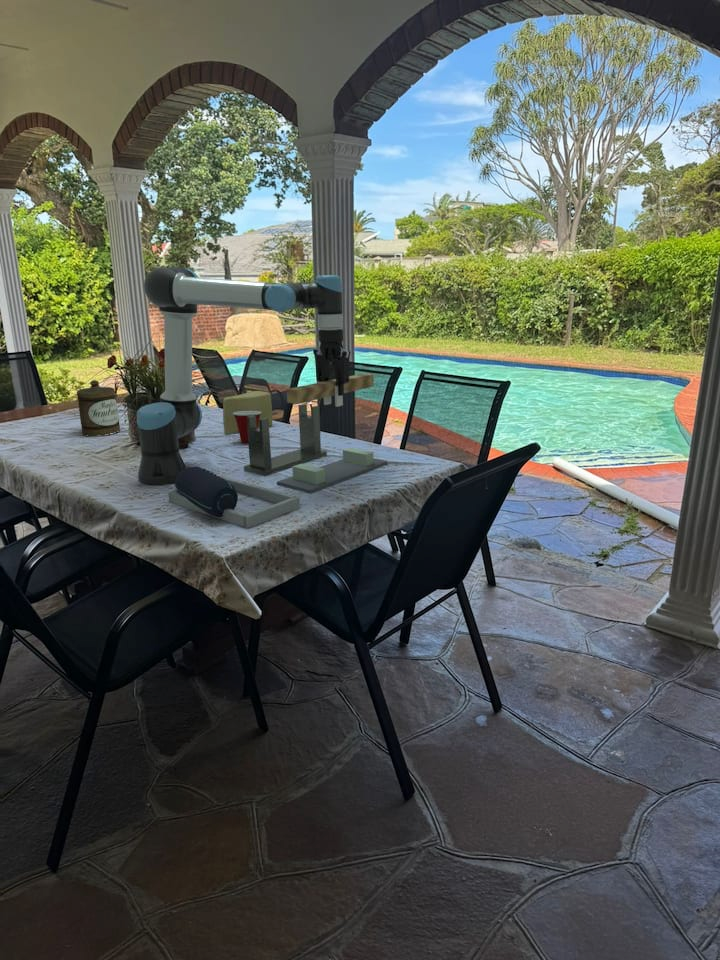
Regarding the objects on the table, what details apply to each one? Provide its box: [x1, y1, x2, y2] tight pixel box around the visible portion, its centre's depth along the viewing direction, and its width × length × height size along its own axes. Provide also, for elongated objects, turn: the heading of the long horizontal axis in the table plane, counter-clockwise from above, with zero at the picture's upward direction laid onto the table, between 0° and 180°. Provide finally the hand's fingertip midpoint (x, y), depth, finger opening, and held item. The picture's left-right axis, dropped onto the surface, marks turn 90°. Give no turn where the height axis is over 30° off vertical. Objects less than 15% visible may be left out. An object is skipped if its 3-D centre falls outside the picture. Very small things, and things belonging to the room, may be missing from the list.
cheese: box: [222, 390, 273, 435], centre depth 268 cm, size 22×10×15 cm, turn 139°
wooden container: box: [76, 379, 121, 437], centre depth 265 cm, size 15×15×22 cm
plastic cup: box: [233, 411, 261, 444], centre depth 248 cm, size 11×11×12 cm
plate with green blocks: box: [276, 447, 388, 494], centre depth 207 cm, size 38×14×5 cm, turn 141°
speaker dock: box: [167, 475, 301, 529], centre depth 181 cm, size 19×34×3 cm, turn 51°
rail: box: [286, 372, 375, 405], centre depth 199 cm, size 36×4×4 cm, turn 141°
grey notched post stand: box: [243, 403, 328, 477], centre depth 218 cm, size 30×10×18 cm, turn 141°
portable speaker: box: [174, 465, 239, 518], centre depth 178 cm, size 25×10×10 cm, turn 38°
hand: (333, 404), depth 201 cm, fingers closed on rail, 4 cm apart
